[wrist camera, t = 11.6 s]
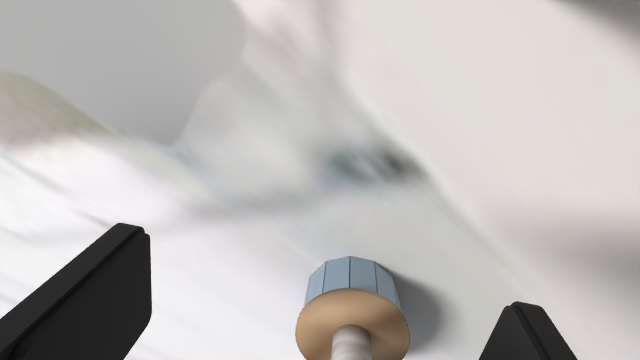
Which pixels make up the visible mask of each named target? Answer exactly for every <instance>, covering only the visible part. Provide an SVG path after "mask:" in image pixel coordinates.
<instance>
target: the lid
mask: <svg viewBox="0 0 640 360" xmlns="http://www.w3.org/2000/svg"><path fill="white" fill-rule="evenodd" d="M295 336H296V342H297V345H298V348H299V350H300V352H301V353H302V355H303V356H304V357H305V358H306V359H307V360H402V359H403V358H404V356H405V354H406V353H407V350H408V347H409V342H410V335H409V329H408V324H407V321H406V319H405V317H404V315H403V313H402V312H401V311H400V309H399V308H398V307H397V306H396V305H395V304H394V303H393V302H391V301H390V300H389V299H387V298H385V297H384V296H382V295H380V294H377V293H375V292H372V291H369V290H364V289H358V288H341V289H335V290H331V291H328V292H325V293H322V294H320V295H318V296H316V297H315V298H313V299H312V300H311V301H310V302H308V303H307V304H306V305H305V307H304V308H303V309H302V311H301V313H300V315H299V317H298V320H297V325H296V332H295Z"/></svg>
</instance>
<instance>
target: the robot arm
mask: <svg viewBox="0 0 640 360" xmlns="http://www.w3.org/2000/svg"><path fill="white" fill-rule="evenodd" d="M151 314H152V300H151V257H150V236H149V235H148V234H146V233H145V231H144V229H143V228H142V227H140V226H134V225H129V224H124V223H118V224H116V225H114V226H113V227H112V228H111V229H109V230H108V231H107V232H106V233H105V234H103V235H102V236H101V237H100V238H99V239H97V240H96V241H95V242H94V243H92V244H91V245H90V246H89V247H88V248H86V249H85V250H84V251H83V252H81V253H80V254H79V255H78V256H77V257H75V258H74V259H73V260H72V261H70V262H69V263H68V264H67V265H66V266H64V267H63V268H62V269H61V270H59V271H58V272H57V273H56V274H55V275H53V276H52V277H51V278H50V279H48V280H47V281H46V282H45V283H44V284H42V285H41V286H40V287H39V288H37V289H36V290H35V291H34V292H33V293H31V294H30V295H29V296H28V297H26V298H25V299H24V300H23V301H22V302H20V303H19V304H18V305H17V306H16V307H14V308H13V309H12V310H11V311H9V312H8V313H7V314H6V315H5V316H3V317H2V318H1V319H0V360H124V358H125V357H126V355H127V354H128V352H129V351H130V350H131V348H132V347H133V345H134V344H135V342H136V341H137V340H138V338H139V337H140V335H141V334H142V332H143V331H144V330H145V328H146V327H147V325H148V323H149V321H150V318H151ZM479 360H577V358H576V357H575V355H574V354H573V352H572V351H571V349H570V348H569V346H568V345H567V343H566V342H565V340H564V339H563V337H562V336H561V334H560V333H559V331H558V330H557V328H556V327H555V325H554V324H553V322H552V321H551V319H550V318H549V316H548V315H547V313H546V312H545V311H544V309H543V308H542V307H540V306H538V305H533V304H528V303H523V302H518V301H517V302H514V303H512V304H511V306H506V307H505V308H504V309H503V311H502V313H501V315H500V317H499V319H498V321H497V324H496V326H495V328H494V330H493V332H492V334H491V336H490V338H489V340H488V342H487V344H486V346H485V348H484V350H483V352H482V354H481V356H480V358H479Z"/></svg>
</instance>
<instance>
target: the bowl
mask: <svg viewBox="0 0 640 360" xmlns="http://www.w3.org/2000/svg"><path fill="white" fill-rule="evenodd" d="M341 288H358V289H364V290H369V291H372V292H375V293H377V294H380V295H382V296H384V297H385V298H387V299H389V300H390V301H391V302H393V303H394V304H395V305H396V306H397V307H398V308H399V309H400V311H401V307H400V301H399V295H398V292H397V288H396V285H395V282H394V279H393V277H392V275H391V274H389V273H388V272H387V271H386V270H384V269H383V268H382V267H381V266H380V265H378V264H377V263H376V262H374V261H370V260H366V259H361V258H356V257H352V256H351V257H350V256H348V257H344V258H340V259H335V260H331V261H327V263H326V262H325V263H324V264H323V265H322V266H321V267H320V268H318V269H317V270H316V271H315V272H314V273H313V274H312V275H311V276H310V279H309V283H308V287H307V291H306V296H305V302H304V307H305V305H306V304H307V303H308V302H310V301H311V300H312V299H313V298H315V297H316V296H318V295H320V294H322V293H325V292H328V291H331V290H335V289H341ZM304 307H303V308H304Z"/></svg>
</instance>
